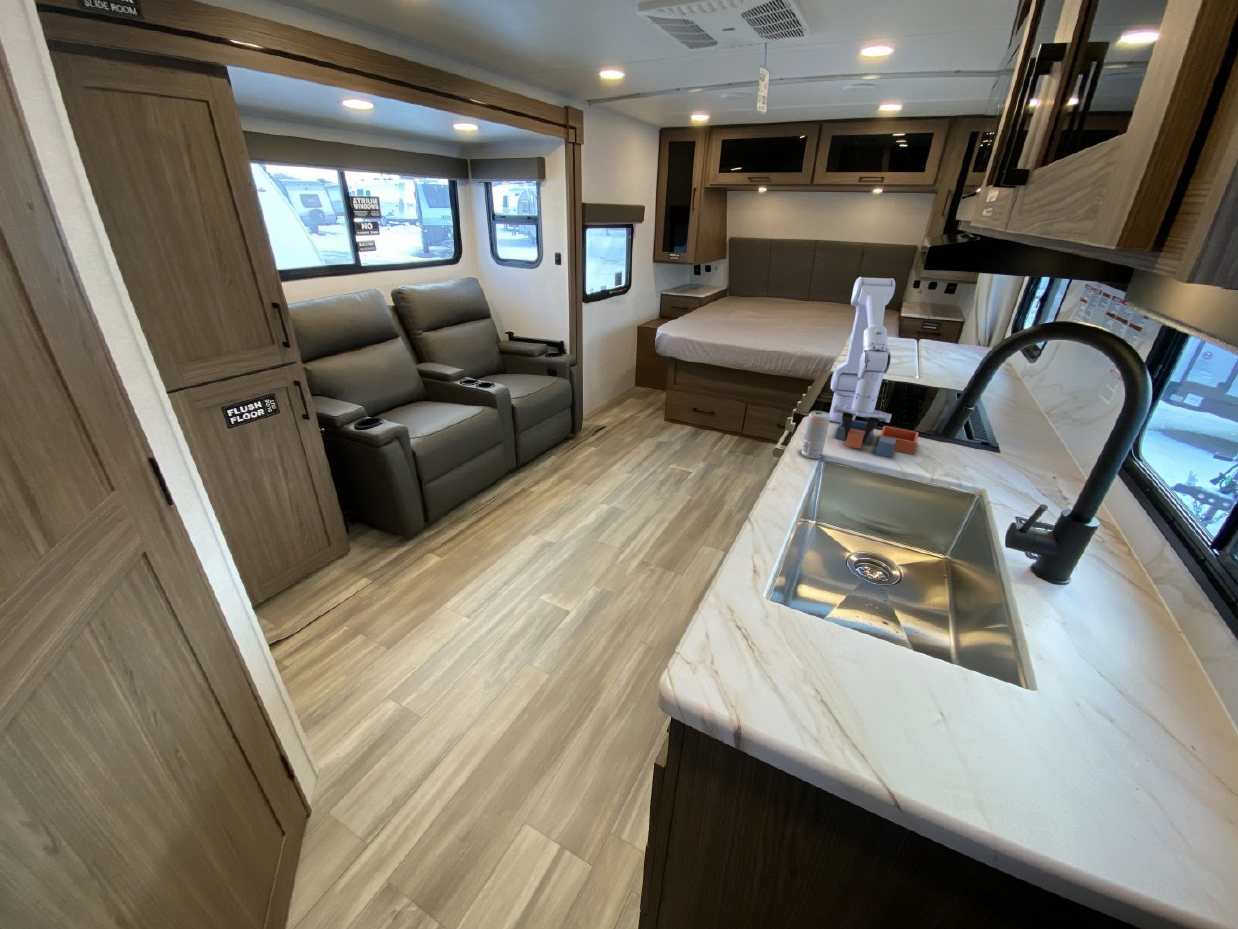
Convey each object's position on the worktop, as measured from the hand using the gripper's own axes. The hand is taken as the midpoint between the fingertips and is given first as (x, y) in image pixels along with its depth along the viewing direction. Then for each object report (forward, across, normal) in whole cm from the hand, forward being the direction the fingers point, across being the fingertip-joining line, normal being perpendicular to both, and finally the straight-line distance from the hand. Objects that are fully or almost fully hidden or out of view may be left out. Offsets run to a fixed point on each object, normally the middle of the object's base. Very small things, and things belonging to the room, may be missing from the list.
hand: (854, 440), depth 140 cm
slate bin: (+2, -1, +8) cm, 9 cm away
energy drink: (+2, -9, -13) cm, 16 cm away
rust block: (+1, 0, 0) cm, 1 cm away
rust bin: (+2, +10, +8) cm, 14 cm away
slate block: (+2, +8, 0) cm, 8 cm away
